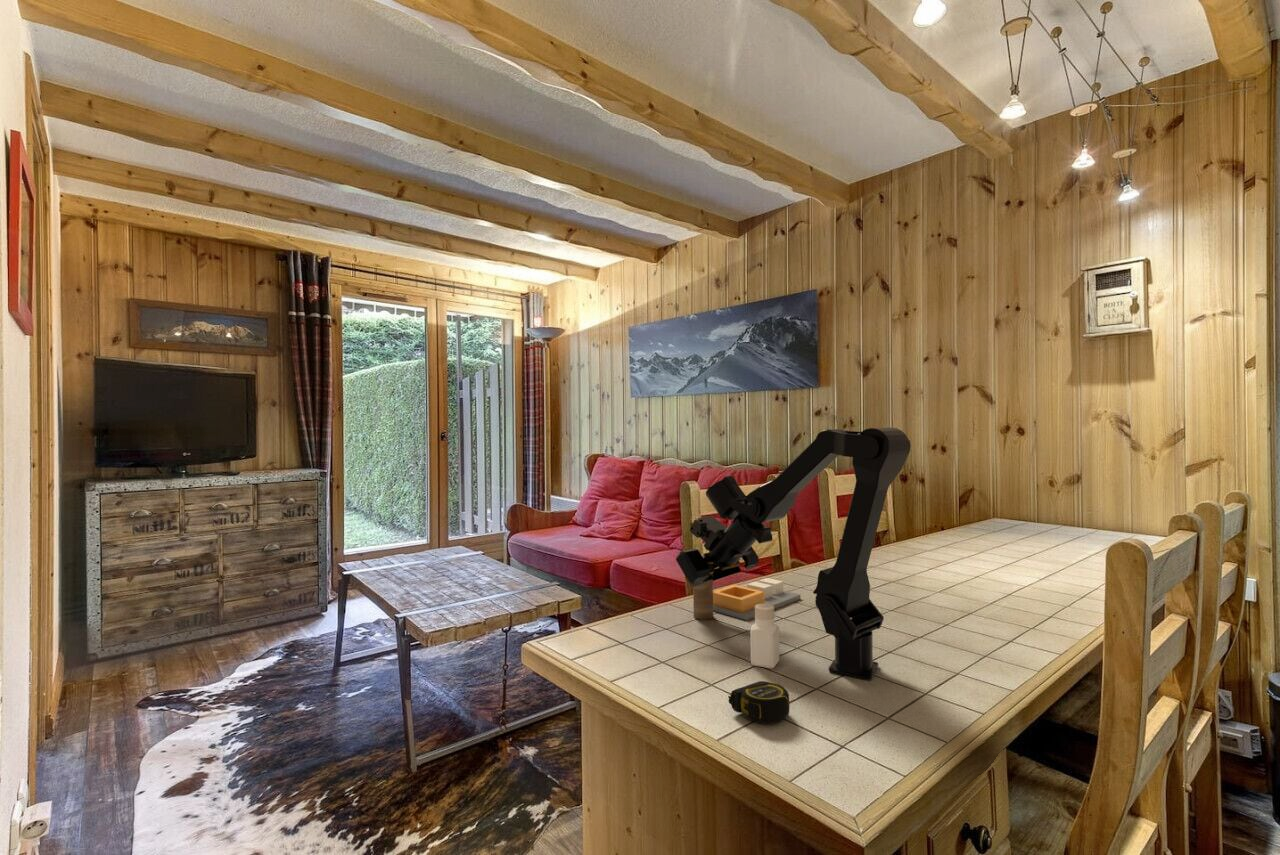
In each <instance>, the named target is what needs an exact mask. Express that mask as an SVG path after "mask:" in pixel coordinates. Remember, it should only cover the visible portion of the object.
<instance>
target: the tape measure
mask: <svg viewBox="0 0 1280 855" xmlns="http://www.w3.org/2000/svg"><path fill="white" fill-rule="evenodd" d="M727 698H728V700H727V701H728V703H729V704H730V705H731V706H730V707H731V709H732V710H733V712H737V713H740V714H742V715H744V717H745V718H747V719H748V720H750V721H753V722H757V723H761V724H762V723H763V724H771V723H777V722H780V721H783V720H784V719H786V718H787V717H789V714H790V695H789V692H788V690H787V689H786V688H785V687H784V686H783V685H780V684H778V683H774V682H769V681H764V680H763V681H762V680H761V681H756V682H753V683H750V684H748V685H745V686H742V687H741V686H740V687H738V688H735V689H733V690H732V691H731V692H730V695H728V697H727Z"/></svg>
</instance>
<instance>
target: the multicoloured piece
mask: <svg viewBox="0 0 1280 855" xmlns="http://www.w3.org/2000/svg"><path fill="white" fill-rule="evenodd" d="M799 600H801V593H796V592H793V591H787V590H784V581H782V580H779V579H773V578H769V577H765V578H763V579H759V580H758V582H757V581H753V582H751V583H748V584H747V586H742V585H737V584H732V585H728V586H726V587H722V588H719V589H717V590H713V612H716V613H720V614H724V615H726V616H730V617H733V618H736V619H741V620H744V621H749V620H752V619H755V605H757V604H770V605H773V606H774V610H776V609H780V608H781V607H784V606H786V605H788V604H789V605H790V604H791V603H794V602H797V601H799Z"/></svg>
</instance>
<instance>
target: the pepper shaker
mask: <svg viewBox="0 0 1280 855" xmlns="http://www.w3.org/2000/svg"><path fill="white" fill-rule="evenodd" d="M775 618H776V617H775V609H774V606H773V605H770V604H757V605H755V618H754V620H755V621H754V623H753V624H752V625H751V628H750V662H751V665H752V666H756V667H761V668H762V667H763V668H766V669H775V667H776V665H777V664H778V662H779V660H780V627H779V625H777V624H775Z"/></svg>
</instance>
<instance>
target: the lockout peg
mask: <svg viewBox="0 0 1280 855" xmlns="http://www.w3.org/2000/svg"><path fill="white" fill-rule="evenodd" d="M700 554H701V555H702V557H703V558H704V556H703V554H704V553H700ZM711 575H712V577H713V573H711ZM692 590H693V591H692V593H693V597H692V598H693V618H694V619H696V620H701V621H707V620H711V619H714V611H713V591H714V581H713V580H710V581H707V582H705V583H702V584H700V585H697V586H694V587H692Z"/></svg>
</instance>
